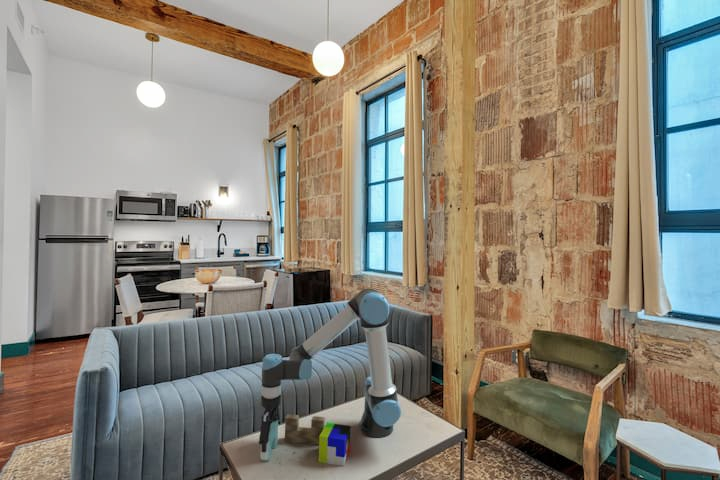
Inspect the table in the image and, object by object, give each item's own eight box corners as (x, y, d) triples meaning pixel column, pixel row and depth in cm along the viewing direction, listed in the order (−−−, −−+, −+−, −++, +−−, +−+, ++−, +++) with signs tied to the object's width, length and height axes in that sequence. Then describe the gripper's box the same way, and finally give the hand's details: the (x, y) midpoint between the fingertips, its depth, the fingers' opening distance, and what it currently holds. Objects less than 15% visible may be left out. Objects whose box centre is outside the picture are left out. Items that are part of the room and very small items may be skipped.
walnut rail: (323, 440, 147) (324, 417, 147) (322, 444, 144) (323, 420, 144) (286, 437, 148) (287, 414, 148) (284, 441, 145) (285, 418, 145)
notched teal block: (270, 443, 144) (270, 419, 144) (277, 444, 144) (278, 420, 143) (260, 460, 133) (261, 434, 133) (268, 461, 133) (269, 435, 132)
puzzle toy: (343, 466, 132) (344, 440, 131) (318, 461, 134) (319, 436, 133) (349, 450, 141) (350, 425, 141) (326, 446, 143) (327, 422, 143)
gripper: (271, 381, 150) (269, 432, 150) (250, 408, 126) (248, 468, 127) (288, 382, 149) (286, 433, 150) (270, 410, 126) (268, 470, 126)
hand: (269, 449), depth 138 cm, fingers closed on notched teal block, 11 cm apart
